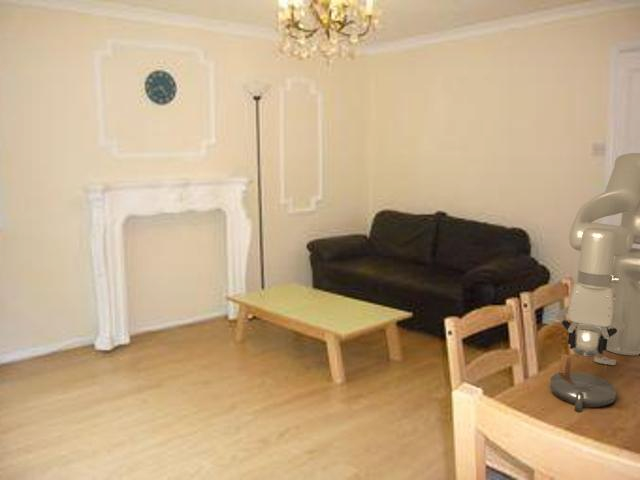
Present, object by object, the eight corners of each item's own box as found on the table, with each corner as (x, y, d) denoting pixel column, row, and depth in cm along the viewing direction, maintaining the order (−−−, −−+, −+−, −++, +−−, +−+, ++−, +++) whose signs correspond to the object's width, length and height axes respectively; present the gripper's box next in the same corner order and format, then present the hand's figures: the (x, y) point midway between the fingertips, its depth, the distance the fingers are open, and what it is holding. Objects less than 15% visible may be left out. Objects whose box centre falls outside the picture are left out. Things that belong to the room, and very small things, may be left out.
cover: (574, 346, 149) (577, 323, 148) (600, 351, 146) (603, 328, 145) (571, 353, 144) (573, 329, 143) (598, 358, 141) (600, 334, 140)
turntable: (537, 382, 152) (539, 357, 150) (584, 376, 156) (586, 351, 155) (579, 409, 138) (582, 381, 136) (629, 401, 142) (632, 374, 141)
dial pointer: (575, 405, 142) (577, 389, 141) (582, 407, 141) (584, 390, 140) (574, 411, 139) (576, 394, 138) (581, 412, 138) (583, 395, 138)
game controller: (612, 361, 172) (613, 353, 171) (626, 377, 160) (627, 368, 160) (591, 360, 172) (592, 351, 172) (604, 376, 161) (605, 367, 161)
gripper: (634, 280, 141) (625, 351, 144) (558, 271, 149) (551, 338, 152) (634, 287, 134) (625, 361, 138) (554, 277, 142) (547, 347, 146)
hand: (586, 349), depth 145 cm, fingers closed on cover, 6 cm apart
